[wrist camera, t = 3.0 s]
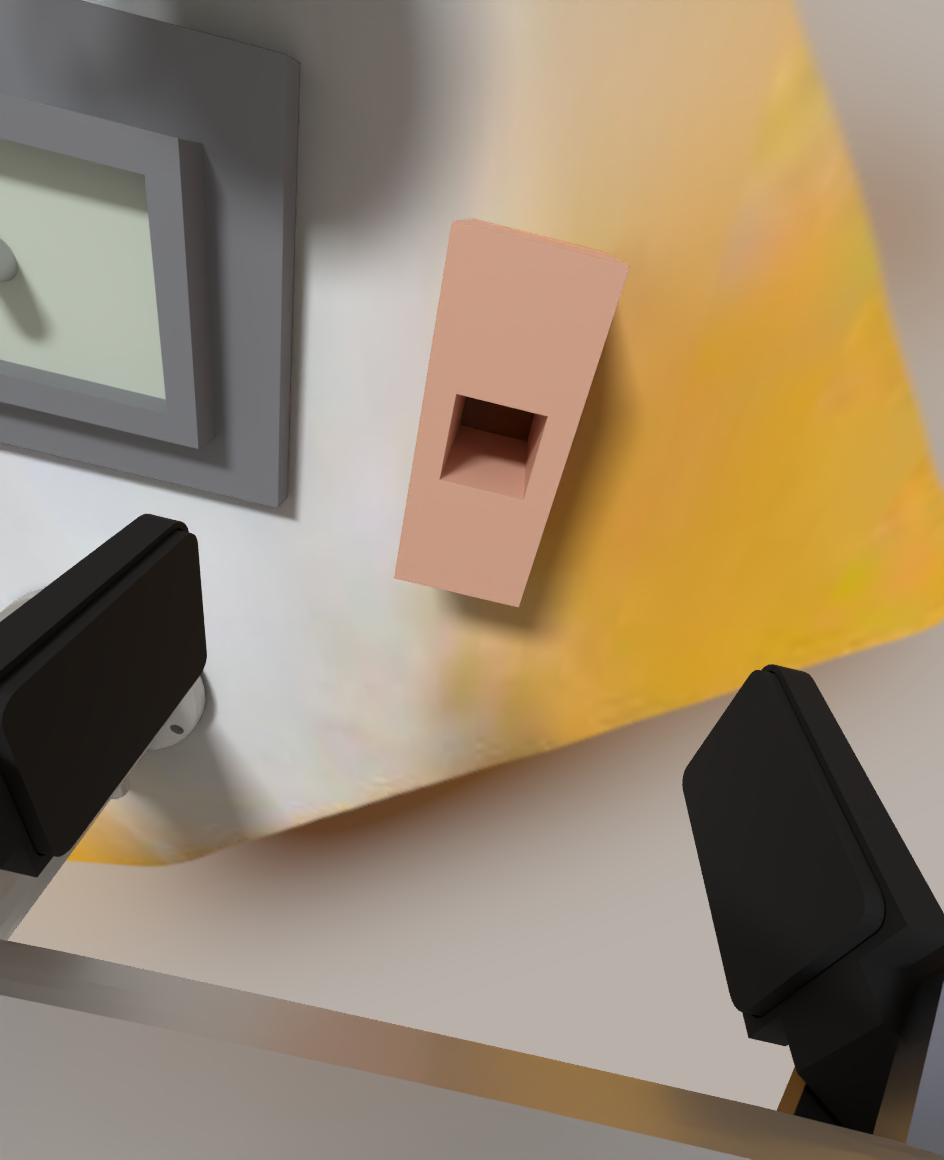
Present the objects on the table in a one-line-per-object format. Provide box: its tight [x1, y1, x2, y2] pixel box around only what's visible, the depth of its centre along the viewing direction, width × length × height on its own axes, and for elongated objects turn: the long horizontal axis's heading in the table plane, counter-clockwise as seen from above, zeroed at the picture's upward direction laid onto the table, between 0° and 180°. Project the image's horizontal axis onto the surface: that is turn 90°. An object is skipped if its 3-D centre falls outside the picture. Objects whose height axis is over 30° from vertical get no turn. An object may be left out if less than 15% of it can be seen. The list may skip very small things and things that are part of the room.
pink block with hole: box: [394, 219, 630, 607], centre depth 21 cm, size 12×5×6 cm, turn 168°
